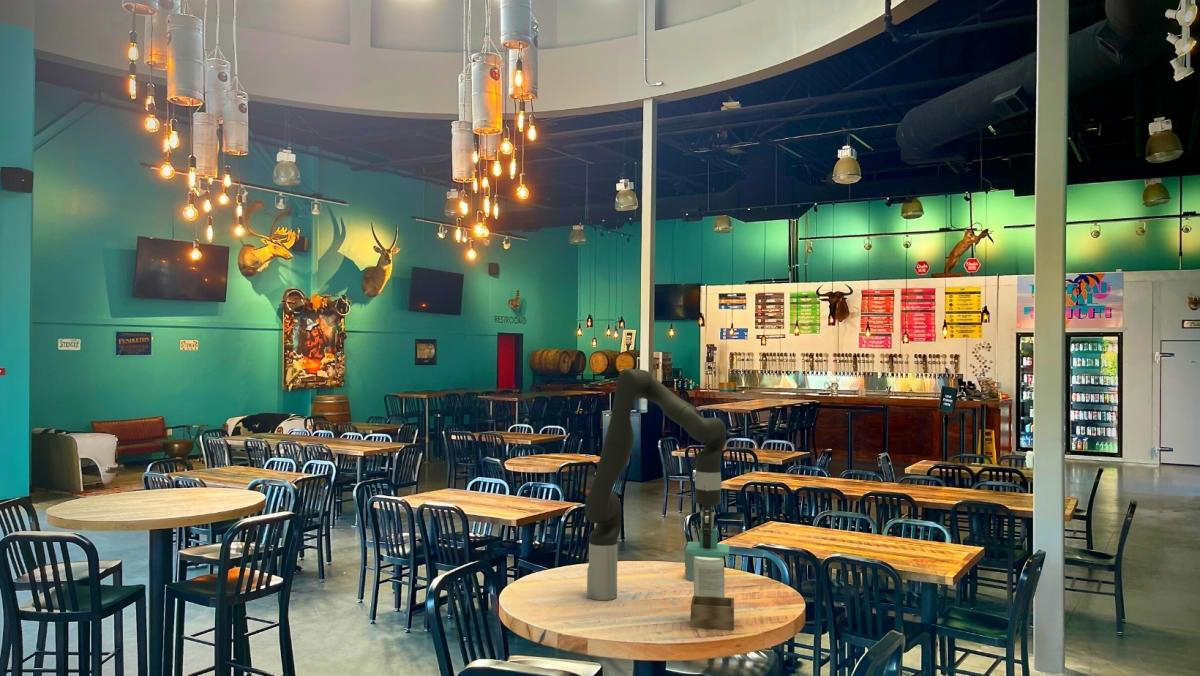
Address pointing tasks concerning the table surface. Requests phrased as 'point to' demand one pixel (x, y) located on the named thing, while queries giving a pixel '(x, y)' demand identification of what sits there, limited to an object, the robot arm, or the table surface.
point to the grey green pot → (689, 564)
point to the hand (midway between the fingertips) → (707, 546)
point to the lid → (712, 552)
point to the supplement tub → (708, 576)
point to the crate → (712, 612)
